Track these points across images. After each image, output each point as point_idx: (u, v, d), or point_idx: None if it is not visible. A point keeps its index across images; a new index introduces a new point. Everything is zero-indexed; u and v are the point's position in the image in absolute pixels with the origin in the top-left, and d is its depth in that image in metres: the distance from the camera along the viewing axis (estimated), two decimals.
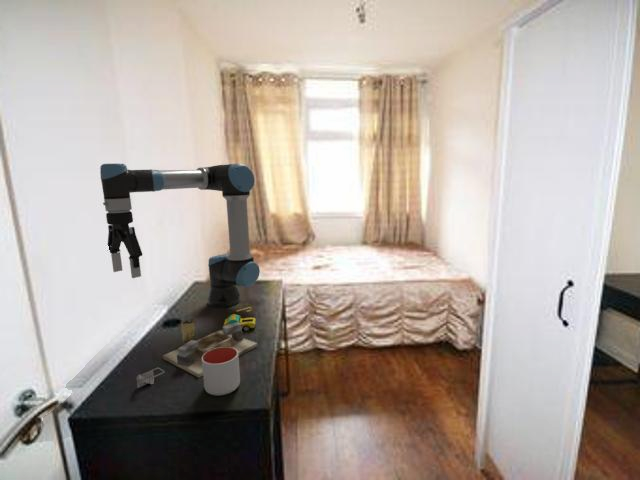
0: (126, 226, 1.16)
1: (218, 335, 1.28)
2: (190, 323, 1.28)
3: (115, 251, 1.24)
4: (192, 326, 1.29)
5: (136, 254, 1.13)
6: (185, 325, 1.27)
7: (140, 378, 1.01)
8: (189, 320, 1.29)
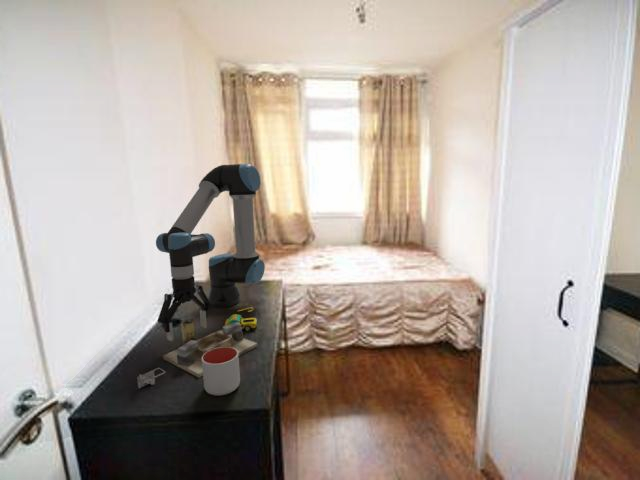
0: (174, 292, 1.24)
1: (218, 335, 1.28)
2: (190, 323, 1.28)
3: (203, 309, 1.34)
4: (192, 326, 1.29)
5: (158, 320, 1.21)
6: (185, 325, 1.27)
7: (141, 378, 1.01)
8: (189, 320, 1.29)
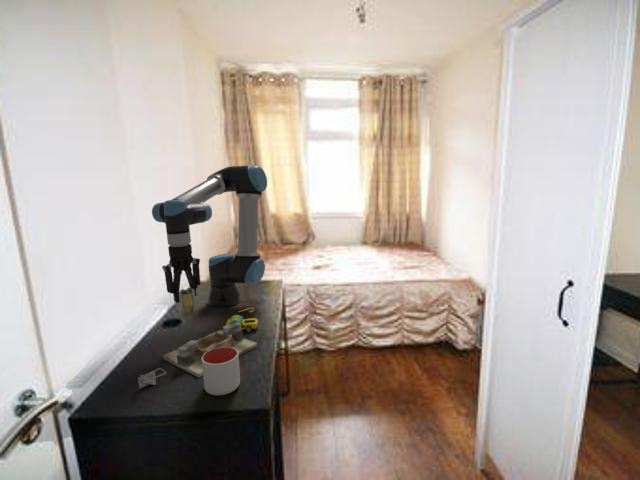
0: (171, 260, 1.22)
1: (218, 335, 1.28)
2: (188, 293, 1.26)
3: (191, 286, 1.29)
4: (190, 296, 1.27)
5: (168, 291, 1.23)
6: (182, 295, 1.26)
7: (142, 379, 1.01)
8: (187, 290, 1.27)
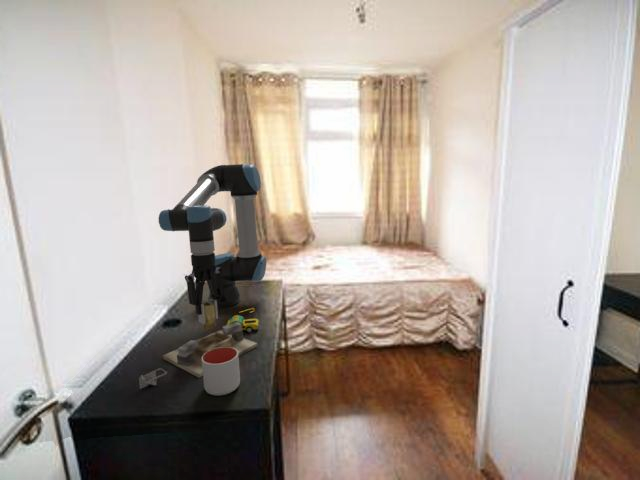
0: (194, 269, 1.15)
1: (218, 335, 1.28)
2: (210, 305, 1.19)
3: (214, 297, 1.22)
4: (212, 308, 1.19)
5: (190, 303, 1.15)
6: (205, 307, 1.18)
7: (142, 379, 1.01)
8: (209, 302, 1.19)
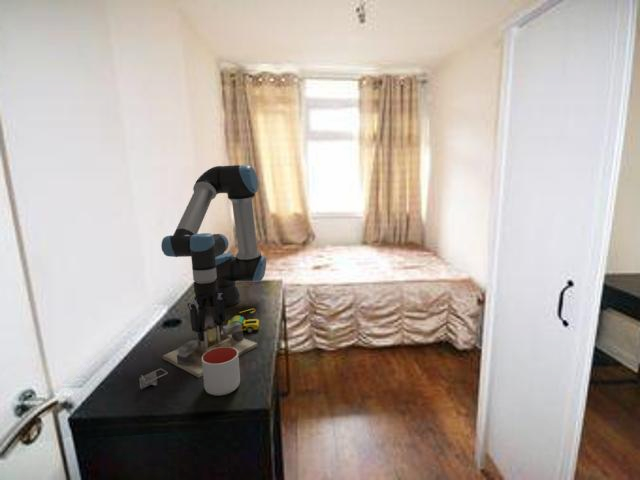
0: (197, 297, 1.16)
1: None
2: (212, 328, 1.20)
3: (216, 323, 1.23)
4: (214, 332, 1.21)
5: (193, 330, 1.17)
6: (207, 331, 1.19)
7: (143, 379, 1.01)
8: (211, 325, 1.21)
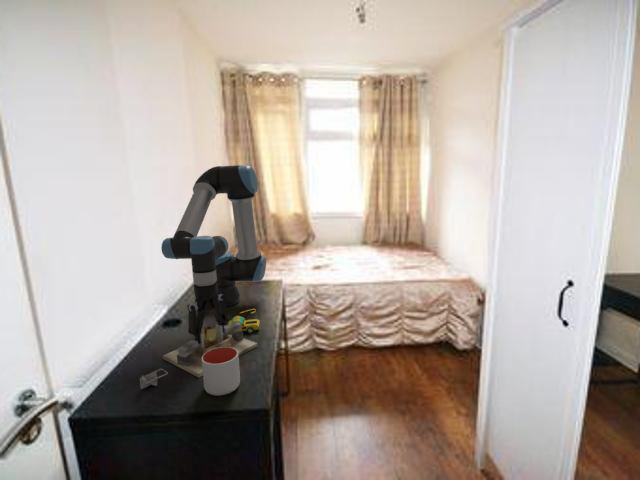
0: (197, 299, 1.17)
1: None
2: (212, 328, 1.20)
3: (219, 323, 1.25)
4: (214, 332, 1.21)
5: (189, 332, 1.16)
6: (207, 331, 1.19)
7: (143, 379, 1.00)
8: (211, 325, 1.21)
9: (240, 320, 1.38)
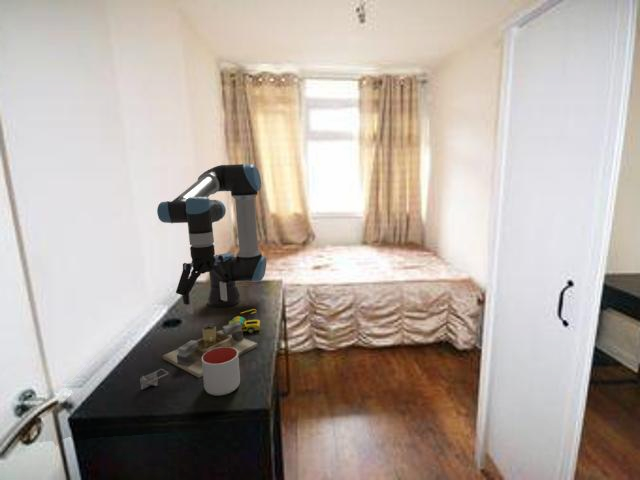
0: (193, 261, 1.14)
1: (218, 335, 1.28)
2: (212, 328, 1.20)
3: (223, 281, 1.25)
4: (214, 332, 1.21)
5: (177, 291, 1.11)
6: (207, 331, 1.19)
7: (144, 379, 1.00)
8: (211, 325, 1.21)
9: (240, 320, 1.38)
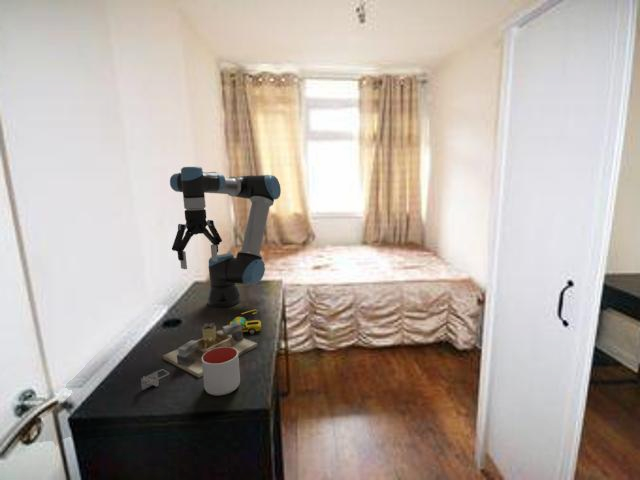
0: (187, 223, 1.30)
1: (218, 335, 1.28)
2: (212, 328, 1.20)
3: (214, 243, 1.41)
4: (214, 331, 1.21)
5: (172, 248, 1.27)
6: (207, 330, 1.20)
7: (145, 380, 1.00)
8: (211, 325, 1.21)
9: (241, 321, 1.37)
